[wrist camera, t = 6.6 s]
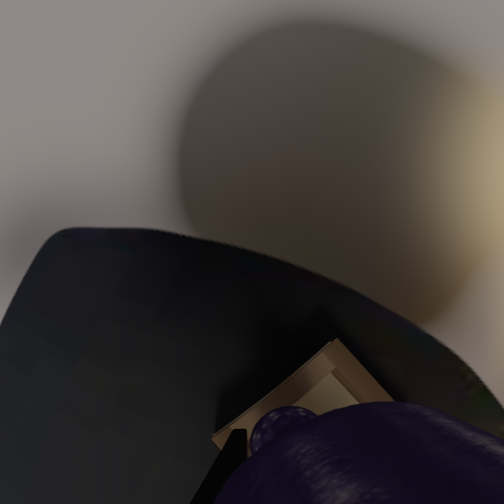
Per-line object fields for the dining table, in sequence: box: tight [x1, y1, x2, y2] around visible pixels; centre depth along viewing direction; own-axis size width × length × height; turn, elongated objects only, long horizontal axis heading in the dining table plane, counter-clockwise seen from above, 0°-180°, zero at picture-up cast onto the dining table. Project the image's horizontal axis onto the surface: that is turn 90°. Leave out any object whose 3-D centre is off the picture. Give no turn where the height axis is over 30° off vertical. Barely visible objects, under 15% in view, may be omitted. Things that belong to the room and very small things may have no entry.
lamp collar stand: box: [212, 338, 394, 457], centre depth 18 cm, size 11×11×3 cm
